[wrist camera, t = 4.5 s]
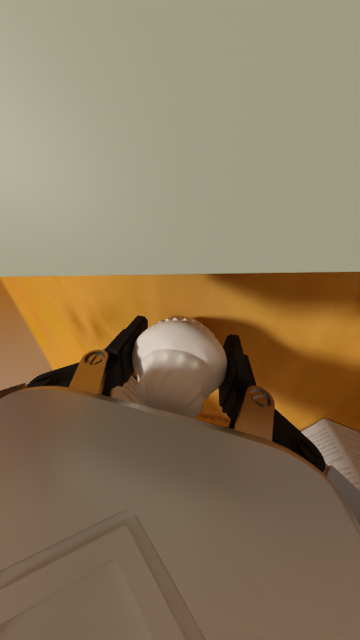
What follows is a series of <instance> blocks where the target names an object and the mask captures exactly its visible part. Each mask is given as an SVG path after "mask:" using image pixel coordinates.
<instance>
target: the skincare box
mask: <svg viewBox="0 0 360 640" xmlns="http://www.w3.org/2000/svg"><path fill="white" fill-rule="evenodd" d="M301 433H302V434H304V435H305V436H306V437H307V438H308V439H309V440H310V441H311V442H312V443H313V444H314V445H315V446H316V447H317V448H318V449H319V451H320V452H321V454H322V456H323V458H324V460H325V463H326V464H327V465H329V466H330V465H332V466H333V467H334V468H336V469H337V470H338V471H339V472H340V473H341V474H342V475H343V476H344V477H345V478H346V479H348V480H349V481H350V482H351V483H352V484H353V485H354V486H355V487H356V488H357V489H358V490H360V433H359V432H357V431H356V430H353V429H350V428H348V427H345V426H343V425H340V424H338V423H336V422H333V421H331V420H328V419H325V418H324V419H322V420H320V421H318V422H317V423H315V424H313V425H311V426H310V427H308V428H306V429H305V430H303V431H301Z"/></svg>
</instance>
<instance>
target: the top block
mask: <svg viewBox="0 0 360 640" xmlns="http://www.w3.org/2000/svg"><path fill="white" fill-rule="evenodd" d="M298 272H360V0H0V277H11V276H82V275H154V274H226V273H298Z"/></svg>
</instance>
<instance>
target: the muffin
mask: <svg viewBox="0 0 360 640" xmlns="http://www.w3.org/2000/svg"><path fill="white" fill-rule="evenodd" d="M132 364H133V368H134V370H135V372H136V374H137V379H138V384H137V387H136V394H137V398H138V402H139V404H140V405H144V406H148V407H151V408H155V409H159V410H163V411H167V412H171V413H174V414H178V415H182V416H186V417H190V418H193V419H194V418H195V417H196V415H198V414H199V413H200V412H201V411H202V408H203V406H202V404H203V403H204V400H205V399H206V398H208V396H209V394H211V393H212V392H214V391H215V390H216V389H217V388H218V387H219V386H220V385H221V384H222V383H223V381H224V379H225V377H226V373H227V357H226V354H225V351H224V349H223V347H222V346H221V344H220V343H219V341H218V340H217V339H216V338H215V335H214V334H213V333H212V332H211V331H209V329H208V328H207V327H206V326H204V325H203V324H202V323H200V322H199V321H197V320H196V319H193V318H189V317H184V316H182V317H174V318H167V319H166V320H162V321H159V323H157V324H154V325H153V326H151V327H149V328H148V329H146V330H145V331H144V332H143V333H142V334H141V335H140V336H139V337H138V338H137V340H136V342H135V344H134V346H133V350H132Z"/></svg>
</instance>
